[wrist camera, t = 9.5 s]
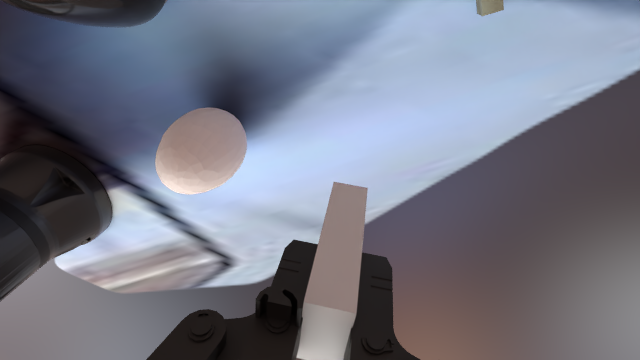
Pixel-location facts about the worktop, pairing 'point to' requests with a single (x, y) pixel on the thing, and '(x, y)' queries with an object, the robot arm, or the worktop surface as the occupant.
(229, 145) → the egg
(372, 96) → the worktop surface
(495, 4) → the wooden slatted bench
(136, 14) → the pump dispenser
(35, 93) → the worktop surface
